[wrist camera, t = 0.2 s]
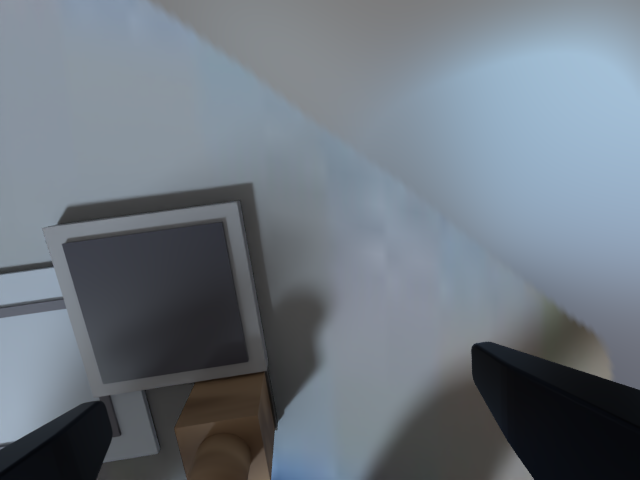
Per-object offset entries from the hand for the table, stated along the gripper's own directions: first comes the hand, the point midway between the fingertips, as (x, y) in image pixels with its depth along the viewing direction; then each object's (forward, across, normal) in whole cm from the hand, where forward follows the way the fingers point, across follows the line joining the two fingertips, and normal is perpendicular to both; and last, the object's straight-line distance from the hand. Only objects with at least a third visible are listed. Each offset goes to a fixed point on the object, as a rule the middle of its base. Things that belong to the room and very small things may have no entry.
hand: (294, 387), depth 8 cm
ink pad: (+14, +8, +2) cm, 16 cm away
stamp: (+14, +5, +10) cm, 18 cm away
